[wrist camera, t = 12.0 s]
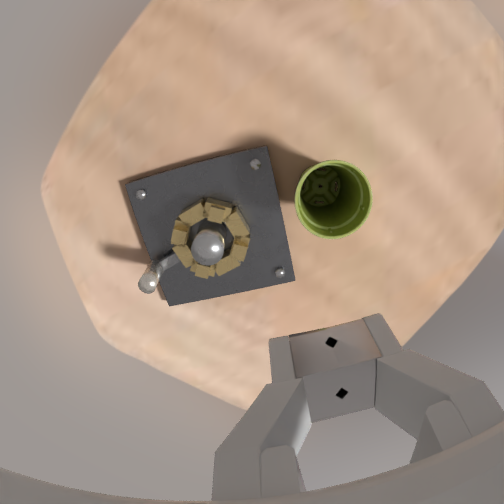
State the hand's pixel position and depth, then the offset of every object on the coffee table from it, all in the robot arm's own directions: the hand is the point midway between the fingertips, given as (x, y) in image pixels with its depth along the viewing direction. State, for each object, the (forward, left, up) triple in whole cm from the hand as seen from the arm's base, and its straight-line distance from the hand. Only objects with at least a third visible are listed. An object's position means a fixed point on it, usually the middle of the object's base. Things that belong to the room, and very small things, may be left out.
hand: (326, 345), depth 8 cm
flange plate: (+8, -9, -37) cm, 39 cm away
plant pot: (+5, +7, -37) cm, 38 cm away
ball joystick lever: (+9, -12, -35) cm, 38 cm away
